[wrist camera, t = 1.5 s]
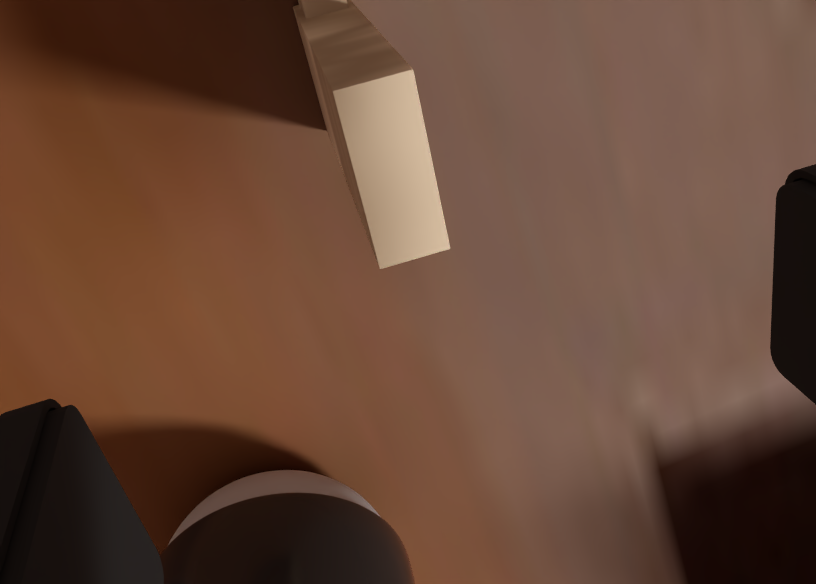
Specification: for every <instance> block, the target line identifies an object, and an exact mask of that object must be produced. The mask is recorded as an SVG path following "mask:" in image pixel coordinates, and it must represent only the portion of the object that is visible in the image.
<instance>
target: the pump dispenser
mask: <svg viewBox="0 0 816 584" xmlns="http://www.w3.org/2000/svg"><path fill="white" fill-rule="evenodd" d="M160 559H161V563H162V567H163V574H164V584H415V581H414V576H413V572H412V568H411V564H410V561H409V557H408V554H407V552H406V549H405V547H404V545H403V543H402V541H401V539H400V537H399V536H398V535H397V533H396V532H395V531H394V529H393V528H392V527H391V526H390V525H389V524H388V523H387V522H386V521H385V520H383V519H382V518H381V517H380V516H379V514H378V513H377V512H376V511H375V509H374V508H373V507H372V506H371V505H370V504H369V503H368V502H367V501H366V500H365V499H364V498H363V497H362V496H360V495H359V494H358V493H356V492H355V491H354V490H352V489H351V488H349V487H348V486H346V485H344V484H343V483H341V482H339V481H336V480H334V479H332V478H329V477H326V476H324V475H320V474H316V473H312V472H307V471H299V470H276V471H268V472H262V473H258V474H253V475H250V476H247V477H244V478H241V479H239V480H236V481H234V482H232V483H230V484H228V485H226V486H224V487H222V488H220V489H219V490H217V491H215V492H214V493H213V494H211V495H210V496H208V497H207V498H206V499H205V500H203V501H202V502H201V503H200V504H199V505H197V506H196V507H195V508H194V509H193V510H192V511H191V513H190V514H189V515H188V516H187V517H186V518H185V519H184V521H183V522H182V523H181V525H180V526H179V527H178V529H177V530H176V532H175V534H174V535H173V537H172V538H171V540H170V542H169V544H168V546H167V547H166V549H165V550H164V551H163V552H162V554H161V555H160Z"/></svg>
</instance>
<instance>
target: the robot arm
mask: <svg viewBox="0 0 816 584" xmlns="http://www.w3.org/2000/svg"><path fill="white" fill-rule="evenodd" d="M770 349H771V356H772V359H773V362H774V364H775V366H776V368H777V369H778V371H779V372H780V373H781V374H782V375H783V376H784V377H785V378H786V379H787V380H788V381H790V382H791V383H792V384H793V385H794V386H795V387H796V388H798V389H799V390H800V391H801V392H802V393H803V394H804V395H806V396H807V397H808V398H809V399H810V400H811V401H812V402H814V403H815V404H816V164H815V165H811V166H808V167H805V168H801V169H798V170H795V171H793V172H792V173H791V174H789V176H788V178H787V180H786V182H785V185H783V186H782V187H781V188H779V190H778V192H777V197H776V214H775V240H774V266H773V292H772V318H771V344H770ZM0 584H164V574H163V567H162V563H161V559H160V556H159V553H158V551H157V549H156V547H155V545H154V544H153V542H152V540H151V538H150V537H149V535H148V533H147V531H146V529H145V528H144V526H143V524H142V522H141V521H140V519H139V517H138V515H137V513H136V512H135V510H134V508H133V506H132V504H131V503H130V501H129V499H128V497H127V496H126V494H125V492H124V490H123V488H122V487H121V485H120V483H119V481H118V480H117V478H116V476H115V474H114V472H113V471H112V469H111V467H110V465H109V463H108V462H107V460H106V458H105V456H104V455H103V453H102V451H101V449H100V447H99V446H98V444H97V442H96V440H95V439H94V437H93V435H92V433H91V431H90V430H89V428H88V426H87V424H86V422H85V421H84V419H83V417H82V415H81V414H80V412H79V411H78V409H77V408H76V407H75V406H73V405H68V406H65V407H61V406H60V404H59V403H57V402H56V401H55V400H53V399H48V400H44V401H41V402H38V403H35V404H31V405H28V406H25V407H21V408H18V409H15V410H12V411H8V412H5V413H3V414H1V416H0Z"/></svg>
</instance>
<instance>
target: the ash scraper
mask: <svg viewBox="0 0 816 584" xmlns="http://www.w3.org/2000/svg"><path fill="white" fill-rule="evenodd" d="M298 3H299V5H296V6H293V10H294V13H295V17H296V21H297V24H298V28H299V31H300V35H301V39H302V42H303V46H304V49H305V53H306V57H307V60H308V64H309V68H310V71H311V75H312V78H313V82H314V86H315V89H316V93H317V96H318V100H319V104H320V107H321V111H322V114H323V118H324V122H325V125H326V129H327V132H328V135H329V137H330V140H331V143H332V145H333V148H334V150H335V153H336V156H337V158H338V161H339V163H340V166H341V169H342V171H343V174H344V176H345V179H346V182H347V184H348V187H349V190H350V192H351V195H352V197H353V200H354V203H355V205H356V208H357V210H358V213H359V216H360V218H361V221H362V223H363V226H364V229H365V231H366V234H367V236H368V239H369V242H370V244H371V247H372V250H373V252H374V255H375V257H376V260H377V263H378V265H379V268H380V269H382V268H386V267H389V266H393V265H396V264H400V263H403V262H406V261H410V260H413V259H417V258H420V257H424V256H427V255H430V254H434V253H437V252H441V251H444V250H448V249H450V245H449V240H448V235H447V231H446V226H445V221H444V216H443V211H442V206H441V202H440V197H439V192H438V187H437V182H436V178H435V173H434V168H433V163H432V158H431V153H430V149H429V144H428V139H427V134H426V129H425V125H424V120H423V115H422V110H421V105H420V101H419V96H418V91H417V86H416V81H415V76H414V72H413V69H412V68H411V67H410V65H409V64H408V63H407V62H406V61H405V60H404V59H403V58H402V57H401V56H400V54H399V53H398V52H397V51H396V50H395V49H394V48H393V47H392V46H391V44H390V43H389V42H388V41H387V40H386V39H385V38H384V37H383V36H382V35H381V33H380V32H379V31H378V30H377V29H376V28H375V27H374V26H373V25H372V24H371V22H370V21H369V20H368V19H367V18H366V17H365V16H364V15H363V14H362V12H361V11H360V10H359V9H358V8H357V7H356V6H355V5H354V4H353V3H352V1H351V0H298Z"/></svg>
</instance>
